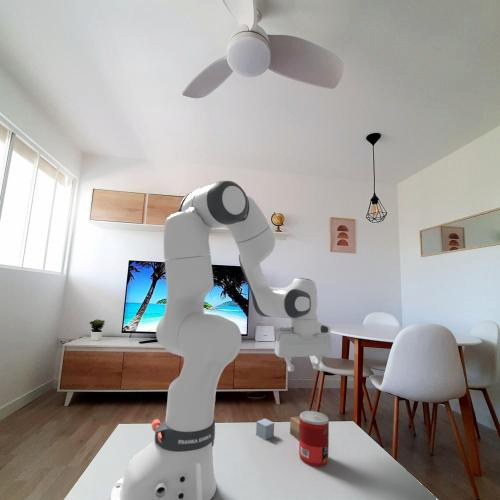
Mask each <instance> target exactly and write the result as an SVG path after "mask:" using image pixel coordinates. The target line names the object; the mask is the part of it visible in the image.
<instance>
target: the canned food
mask: <svg viewBox="0 0 500 500" xmlns="http://www.w3.org/2000/svg"><path fill="white" fill-rule="evenodd" d="M299 416H300V435H299V441H298V442H299V445H298V449H299V451H298V452H299V453H298V455H299V458H300V459H301V461H302V462H304V463H305V464H307V465H309V466H312V467H323V466H326V465H327V463H328V461H329V444H330V443H329V436H330V435H329V433H330V431H329V429H330V428H329V427H330V426H329V424H330V423H329V417H328V416H327V415H326V414H324V413H322V412H319V411H315V410H306V411H305V410H304V411H302V412H301V413H300V414H299Z"/></svg>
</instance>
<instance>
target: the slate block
mask: <svg viewBox="0 0 500 500" xmlns="http://www.w3.org/2000/svg"><path fill="white" fill-rule="evenodd" d="M255 427H256V428H255V436H257V437H259V438H261V439H262V440H264V441H267V440H268V439H271V438H273V437H274V436H275V435H274V434H275V422H273V421H271V420H269V419H267V418H262V419H260V420H257V421H256V426H255Z"/></svg>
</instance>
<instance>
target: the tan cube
mask: <svg viewBox="0 0 500 500" xmlns="http://www.w3.org/2000/svg"><path fill="white" fill-rule="evenodd" d="M289 425H290V426H289V434H290V436H292V437H293V436H294V437H293V438H294V439H296V440H297V441H298V442H299V435H300V415H298V416H297V415H296V416H293V417H292V416H291V417H290V423H289Z"/></svg>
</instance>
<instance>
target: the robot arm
mask: <svg viewBox="0 0 500 500" xmlns="http://www.w3.org/2000/svg"><path fill="white" fill-rule="evenodd" d="M221 227H226V228H227V229H228V230H229V232H230V234H231V236H232V238H233V240H234V242H235V244H236V246H237V248H238V251H239V254H238V262H239V265H240V268H241V270H242V273H243V275H244V279H245V281H246V284H247V286H248V289H249V291H250V294H251V297H252V302H253V303H252V304H253V308H254V310H255V311H256V313H257V314H258V315H259V316H261V317H266V318H267V317H269V318H279V319H280V318H281V319H282V318H283V319H289V320H290V326H289V327H279V328H278V329H277V330H276V331H275V345H274V355H276V356H277V357H278V358H280V359H281V358H282V359H283V358H284V361H285V363H286V365H287V371H288V372H294V371H295V364H294V365H293V364H292V363H291V361H292V358H300V357H315V358H316V359H315V361H314V362H312V369H313V370H320V364H321V363H322V360H323V356H330V355H332V352H333V341H332V335H331V334H330V333H331V330H332V329H331V327H330V326H328V325H325V324H323V323H321V322H318V314H317V308H318V291H317V286H316V282H315V280H312V279H309V278H302V277H298V278H296V277H295V278H294V279H292V280H293V281H292V283H291V284H289V285H288V286H285V287H273V286H270V285H269V284H268V283H267V281H266V279H265V276H264V273H263V271H262V267H261V263H262V262H263V261H264V260H266V259H267V258H268V257H269V256H270V255H271V254H272V253H273V250H274V248H275V245H276V239H275V235H274V232H273V230H272V228H271V226H270V224H269V222H268V220H267V218H266V217H265V215H264V212H263V210H261V208H260V206H259V205H258V204H257V202H256V201H255V200H254V199H253V198H252V197H251V196H248V195H247V193H246V192H245V191H244V189H243V188H242V187H241V186H240V185H239V184H238V183H237V182H235V181H232V180H220V181H216V182H215V183H212V184H209V185H208V184H207V185H204V186H200V187H199V188H198V189H197V188H196V190H194V191H192V192H189V193H188V194H186V195H185V196H184V197H183V199H182V200H181V201H180V204H179V207H178V211H177V212H175V213H173V214H171V215H170V216H168V217H167V218H166V220H165V223H164V228H163V259H164V269H165V279H166V290H167V291H166V292H167V293H166V302H165V309H164V313H163V316H162V317H161V318H160V319H159V321H158V324H157V326H156V329H155V337H156V341H157V342H158V344H159V345H160V346H161V347H162V348H163V349H165V350H166V351H168V352H169V353H171V354H173V355H176V356H179V357H182V358H183V363H182V364H183V365H182V368H181V371H180V374H179V376H177V377H176V378H175V379H173V381H172V382H171V383H170V384H169V387H168V392H167V402H166V412H165V413H166V414H165V419H164V420H163V421H162V422H161V421H160V419H158V418H157V419H154V420H153V421H152V422H151V428H152V431H153V432H154V440H152V441H151V442H150V443H148V444H147V445H146V446H145V447H144V448H142V449H141V450H140V451H139V452H137V453H136V454H135V455H133V456H132V458H131V459H130V461H129V463H128V464H127V468H126V469H125V473H124V476H123V477H121V478H119V479H118V480H116V482H115V483H114V485H113V487H112V489H111V492H110V496H109V500H211V499H212V498H213V497H214V495H215V493H216V491H217V482H216V479H215V471H214V462H213V460H214V459H213V457H214V456H213V447H214V444H215V438H216V420H215V419H214V418H215V417H214V416H215V403H216V393H217V388H218V383H219V381H220V379H221V378H220V377H221V375H222V373H223V371H224V369H225V367H227V366H228V365H229V364H230V363H232V362H233V361H234V360H235V359H236V358H237V356H238V355H239V353H240V350H241V347H242V333H241V330H240V328H239V326H238V324H237V323H235V322H234V321H232V320H231V319H228V318H225V317H223V316H221V315H217V314H211V313H210V314H209V313H205V310H204V305H205V301H206V296H207V295H208V294H209V293H210V292H212V289H213V287H214V275H213V267H212V265H213V264H212V256H211V248H210V242H209V239H210V233H211V231H212V229H217V228H221Z"/></svg>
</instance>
